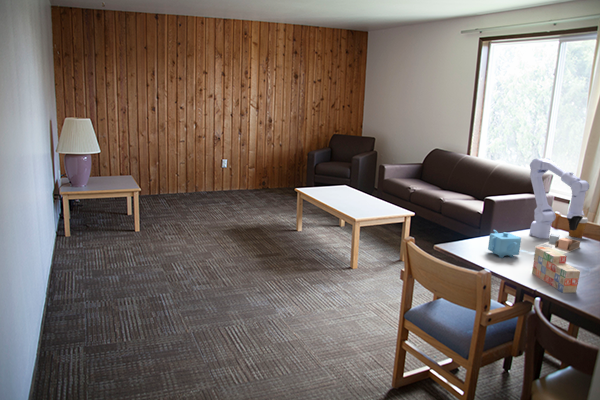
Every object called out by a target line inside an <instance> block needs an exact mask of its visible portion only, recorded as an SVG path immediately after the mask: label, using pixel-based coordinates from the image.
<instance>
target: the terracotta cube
mask: <svg viewBox="0 0 600 400" xmlns="http://www.w3.org/2000/svg"><path fill="white" fill-rule="evenodd" d="M566 238H567V237H562V238H559V244H558V248H561V249H565V250H569V245H570V244H572V240H570V239H571V238H569V239H566Z"/></svg>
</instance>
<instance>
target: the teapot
mask: <svg viewBox="0 0 600 400" xmlns="http://www.w3.org/2000/svg"><path fill="white" fill-rule="evenodd" d="M521 240H522V237H520V236H517V235H514V234H512V233H511V232H505V231H504V232H498V231H497V230H496V229H493V233H490V234H489V240H488V247H487V251H490V252H492V253H491V254H494V255H497V256H498V258H500V259H503V258H504V257H505V256H508V257H509V258H514V257H515V256H519V255H520V249H521V243H522V241H521Z"/></svg>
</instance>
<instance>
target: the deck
mask: <svg viewBox="0 0 600 400" xmlns="http://www.w3.org/2000/svg"><path fill="white" fill-rule="evenodd" d="M544 245H546V246H548V247H551V248H552V249H553V250H555V251H557V252H559V253H561V254H563V255H566V254H567V253H571V252H573V251H575V250H577V249H580V248H581V246H580V247H579V248H576V249H574V250H571V251H569V250H565V249H561V248H558V247H555V244H552V243H549V241H546V242H543V243H540V244H538V245H535V246H534V248H536V247H545V246H544Z"/></svg>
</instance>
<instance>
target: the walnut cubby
mask: <svg viewBox="0 0 600 400" xmlns="http://www.w3.org/2000/svg"><path fill="white" fill-rule="evenodd" d="M565 238H566V239H570V240H572V244H570V245H569V251H570V252H572V251H571V250H573V251H575V250H577V249H580V248H581V241H580V240H576V239H573V238H568V237H565ZM558 244H559V240H557V241H556V243H555V247H558ZM579 247H580V248H579ZM576 248H577V249H576ZM574 249H575V250H574Z"/></svg>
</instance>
